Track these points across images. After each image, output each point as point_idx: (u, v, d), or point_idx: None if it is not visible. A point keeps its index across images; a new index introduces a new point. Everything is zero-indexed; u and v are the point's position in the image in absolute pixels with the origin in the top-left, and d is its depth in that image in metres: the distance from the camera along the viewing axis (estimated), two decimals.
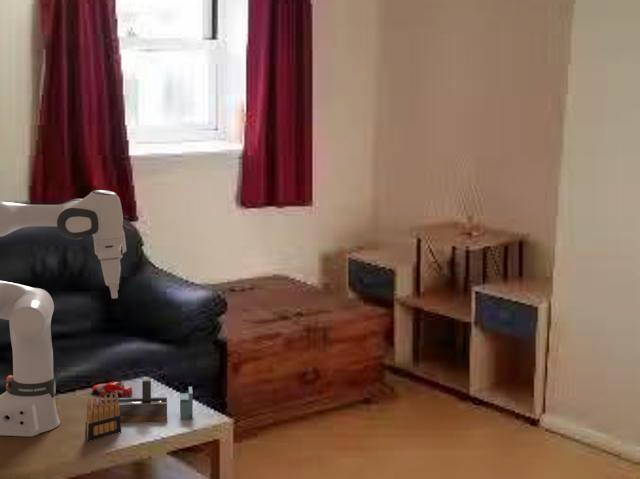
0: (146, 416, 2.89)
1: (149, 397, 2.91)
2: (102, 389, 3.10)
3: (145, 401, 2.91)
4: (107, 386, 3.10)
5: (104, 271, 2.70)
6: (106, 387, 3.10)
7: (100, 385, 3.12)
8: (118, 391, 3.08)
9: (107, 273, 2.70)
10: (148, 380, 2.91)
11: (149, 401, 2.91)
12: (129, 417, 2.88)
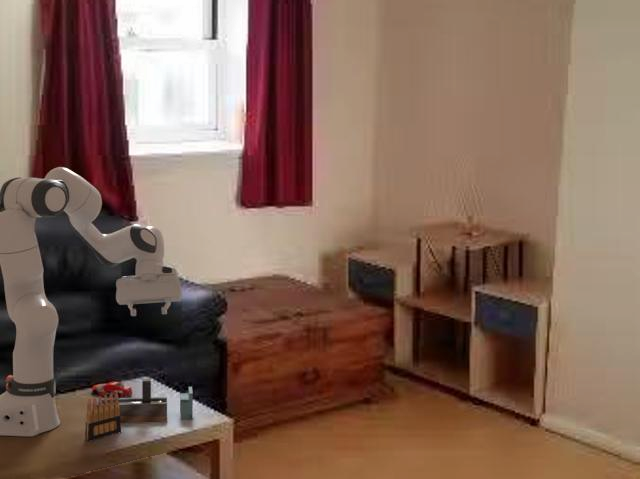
0: (146, 416, 2.89)
1: (149, 397, 2.91)
2: (102, 389, 3.10)
3: (145, 401, 2.91)
4: (107, 386, 3.10)
5: None
6: (106, 387, 3.10)
7: (100, 385, 3.12)
8: (118, 391, 3.08)
9: (180, 287, 3.05)
10: (148, 380, 2.91)
11: (149, 401, 2.91)
12: (129, 417, 2.88)
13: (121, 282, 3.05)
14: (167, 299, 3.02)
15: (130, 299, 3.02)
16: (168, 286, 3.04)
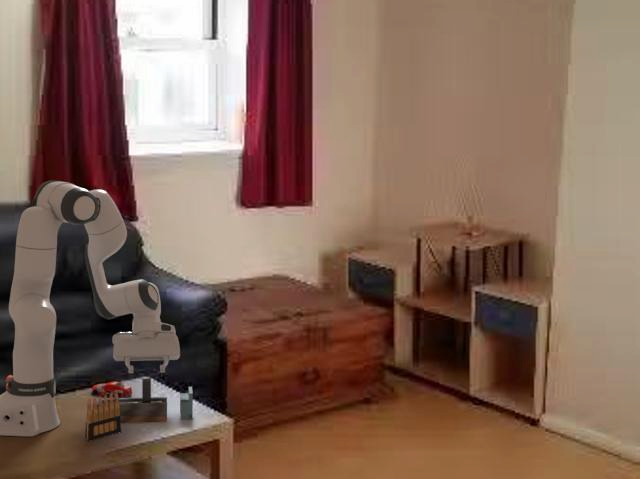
0: (146, 416, 2.89)
1: (149, 397, 2.91)
2: (102, 389, 3.10)
3: (145, 401, 2.91)
4: (107, 386, 3.10)
5: (178, 342, 3.02)
6: (106, 387, 3.10)
7: (100, 385, 3.12)
8: (118, 391, 3.08)
9: None
10: (148, 380, 2.91)
11: (149, 401, 2.91)
12: (129, 417, 2.88)
13: (118, 338, 3.00)
14: (166, 357, 2.99)
15: (128, 356, 2.98)
16: (167, 344, 3.01)
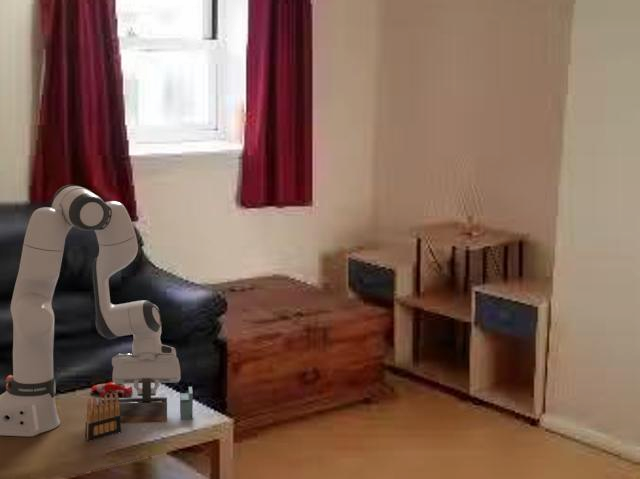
0: (146, 416, 2.89)
1: (149, 397, 2.91)
2: (102, 389, 3.10)
3: (145, 401, 2.91)
4: (107, 386, 3.10)
5: None
6: (106, 387, 3.10)
7: (99, 385, 3.12)
8: (119, 391, 3.09)
9: (179, 368, 2.97)
10: (148, 380, 2.91)
11: (149, 401, 2.91)
12: (129, 417, 2.88)
13: (118, 360, 2.95)
14: (157, 380, 2.94)
15: (127, 378, 2.92)
16: (167, 367, 2.96)
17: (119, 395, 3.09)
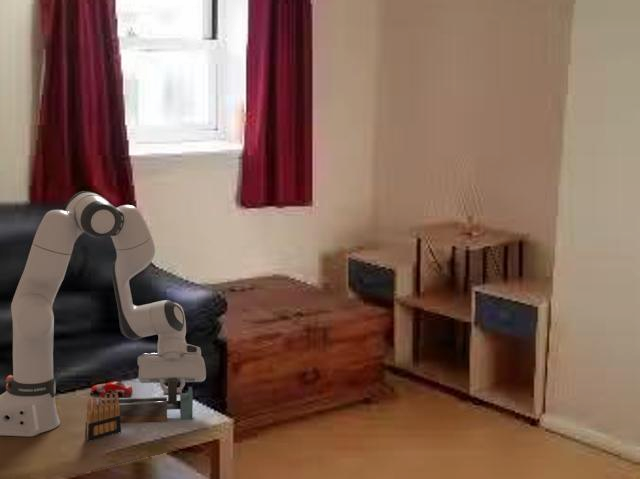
0: (146, 416, 2.89)
1: (175, 396, 2.93)
2: (102, 389, 3.10)
3: (171, 400, 2.93)
4: (107, 386, 3.10)
5: (204, 364, 2.98)
6: (106, 387, 3.10)
7: (99, 385, 3.12)
8: (119, 390, 3.09)
9: None
10: (174, 379, 2.92)
11: (175, 400, 2.93)
12: (129, 417, 2.88)
13: (144, 359, 2.96)
14: (182, 379, 2.95)
15: (153, 378, 2.93)
16: (193, 366, 2.97)
17: (119, 395, 3.09)
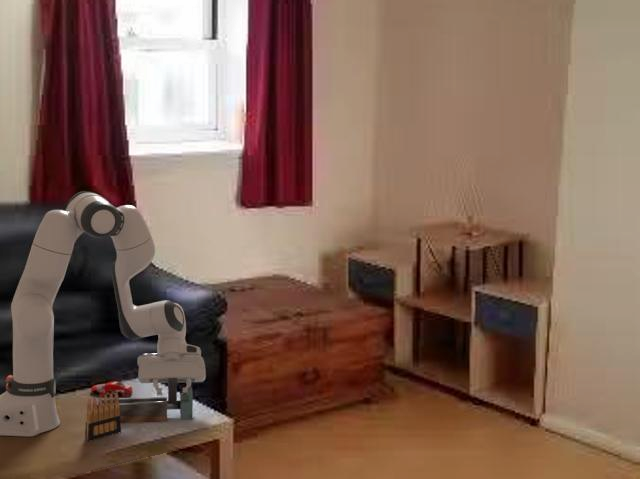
0: (146, 416, 2.89)
1: (175, 396, 2.93)
2: (102, 389, 3.10)
3: (171, 400, 2.93)
4: (107, 386, 3.10)
5: (204, 364, 2.98)
6: (106, 387, 3.10)
7: (99, 385, 3.12)
8: (119, 390, 3.09)
9: (204, 367, 2.98)
10: (174, 379, 2.92)
11: (175, 400, 2.93)
12: (129, 417, 2.88)
13: (143, 360, 2.96)
14: (188, 379, 2.95)
15: (153, 378, 2.93)
16: (193, 366, 2.97)
17: (119, 395, 3.09)
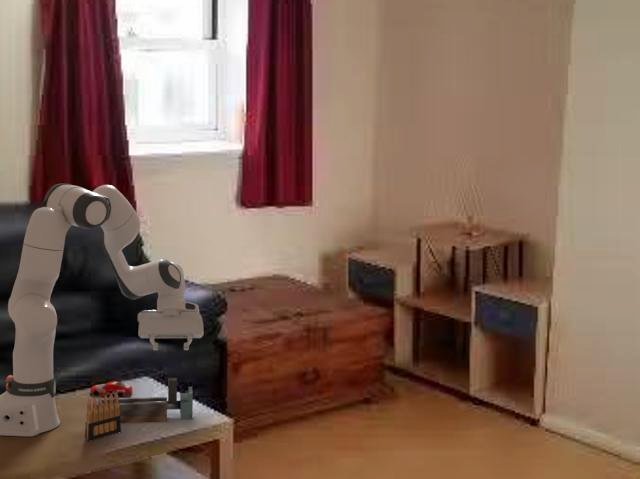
0: (146, 416, 2.89)
1: (175, 396, 2.93)
2: (103, 389, 3.10)
3: (171, 400, 2.93)
4: (108, 386, 3.10)
5: (202, 321, 3.09)
6: (107, 387, 3.10)
7: (99, 386, 3.12)
8: (120, 390, 3.09)
9: (202, 324, 3.09)
10: (174, 379, 2.92)
11: (175, 400, 2.93)
12: (129, 417, 2.88)
13: (144, 316, 3.07)
14: (190, 335, 3.06)
15: (153, 333, 3.04)
16: (191, 323, 3.08)
17: (120, 395, 3.09)
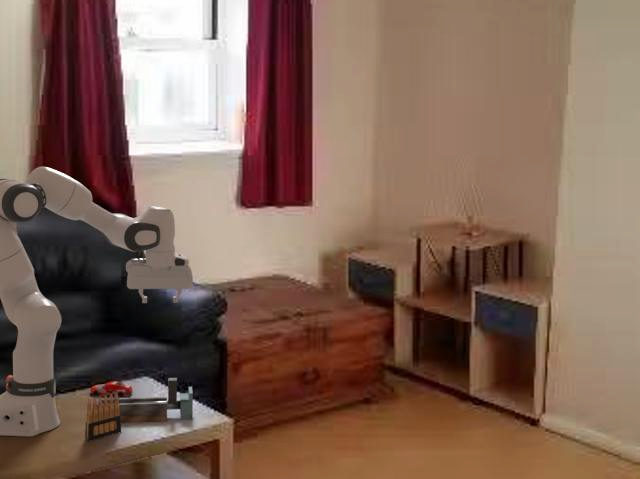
0: (146, 416, 2.89)
1: (175, 396, 2.93)
2: (103, 389, 3.09)
3: (171, 400, 2.93)
4: (108, 386, 3.10)
5: None
6: (107, 387, 3.10)
7: (99, 386, 3.11)
8: (120, 390, 3.09)
9: (192, 277, 3.03)
10: (174, 379, 2.92)
11: (175, 400, 2.93)
12: (129, 417, 2.88)
13: (132, 269, 2.99)
14: (179, 290, 3.03)
15: (142, 288, 3.01)
16: (180, 277, 3.02)
17: (120, 395, 3.09)
